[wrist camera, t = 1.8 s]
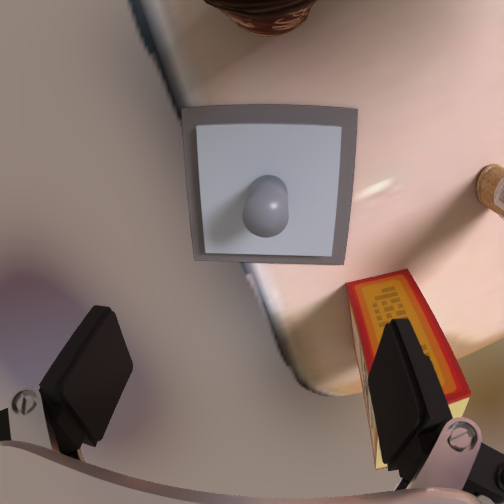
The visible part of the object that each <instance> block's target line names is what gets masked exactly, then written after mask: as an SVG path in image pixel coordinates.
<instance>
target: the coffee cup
mask: <svg viewBox="0 0 504 504" xmlns="http://www.w3.org/2000/svg"><path fill="white" fill-rule="evenodd" d="M204 1H205V2H206V3H207V4H209V5H212V6H214V7H216V8H219V9H220V10H221V11H222V12H223V13H225V14H226V15H227V16H229V17H230V18H232V19H233V20H234V21H235V22H236V23H237V24H238V25H239V26H240V27H241V28H242V29H244V30H247V31H248V32H249V33H251V34H255V35H258V36H274V35H279V34H283V33H287V32H289V31H291V30H293V29H295V28H297V27H298V26H300V25H301V23H302V22H303V21H305V20H306V18H307V16H308V14H309V11H310V7H311V6H312V5H313V4H314V3H315V2H316V1H318V0H204Z"/></svg>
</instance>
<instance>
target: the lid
mask: <svg viewBox="0 0 504 504" xmlns="http://www.w3.org/2000/svg"><path fill="white" fill-rule="evenodd" d="M341 128H342V127H340V126H336V125H320V124H298V123H224V124H202V125H198V126H196V133H197V151H198V167H199V181H200V195H201V208H202V220H203V231H204V243H205V253H226V254H262V255H299V256H332V248H333V239H334V229H335V219H336V208H337V196H338V183H339V168H340V150H341Z"/></svg>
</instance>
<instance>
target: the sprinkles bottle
mask: <svg viewBox="0 0 504 504" xmlns="http://www.w3.org/2000/svg"><path fill="white" fill-rule="evenodd" d="M477 196H478V199H479V201H480V202H481V203H482V204H483V205H484V206H485V207H487V208H490V209H491V210H493V211H494V212H495V213H497V214H498V215H499V216H500V217H501V218H502V219H504V168H503V167H502V166H500V165H498V164H491V165H489V166H487V167H485V168H484V169H483V171H482V172H481V174H480V176H479V178H478V181H477Z"/></svg>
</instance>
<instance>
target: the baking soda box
mask: <svg viewBox="0 0 504 504" xmlns="http://www.w3.org/2000/svg"><path fill="white" fill-rule="evenodd" d="M346 288H347V295H348V301H349V309H350V316H351V324H352V332H353V340H354V349H355V353H356V358H357V363H358V368H359V373H360V378H361V383H362V388H363V394H364V399H365V405H366V411H367V416H368V422H369V428H370V435H371V441H372V448H373V456H374V463H375V470H378V469H382V468H387V467H388V466H387V464H384V463H383V462H382V457H381V450H380V444H379V439H378V433H377V427H376V422H375V417H374V411H373V406H372V401H371V396H370V392H369V387H368V375H369V372H370V369H371V367H372V364H373V361H374V358H375V355H376V352H377V349H378V346H379V343H380V340H381V337H382V334H383V330H384V327H385V325H386V323H390V321H391V320H392V319H400V318H408V319H409V320H410V322H411V325H412V327H413V329H414V331H415V333H416V336H417V338H418V340H419V343H420V345H421V347H422V350H423V352H424V354H425V355H427V356H429V358H430V360H431V362H432V364H433V367H434V369H435V372H436V374H437V377H438V379H439V382H440V384H441V387H442V389H443V392H444V395H445V397H446V400H447V403H448V405H449V408H450V411H451V414H452V417H453V419H454V418H457V417H462V415H463V412H464V410H465V408H466V405H467V403H468V400H469V398H470V395H471V391H470V389H469V387H468V384H467V382H466V380H465V377H464V375H463V373H462V371H461V369H460V366H459V364H458V362H457V360H456V358H455V356H454V354H453V351H452V349H451V347H450V345H449V343H448V341H447V339H446V337H445V335H444V333H443V331H442V329H441V328H440V326H439V324H438V322H437V320H436V318H435V316H434V314H433V312H432V311H431V309H430V307H429V305H428V303H427V301H426V300H425V298H424V296H423V294H422V293H421V291H420V289H419V287H418V286H417V284H416V282H415V281H414V279H413V277H412V275H411V274H410V272H409V270H408V269H404V270H400V271H396V272H392V273H388V274H383V275H379V276H375V277H370V278H366V279H362V280H357V281H353V282H348V283H346Z"/></svg>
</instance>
